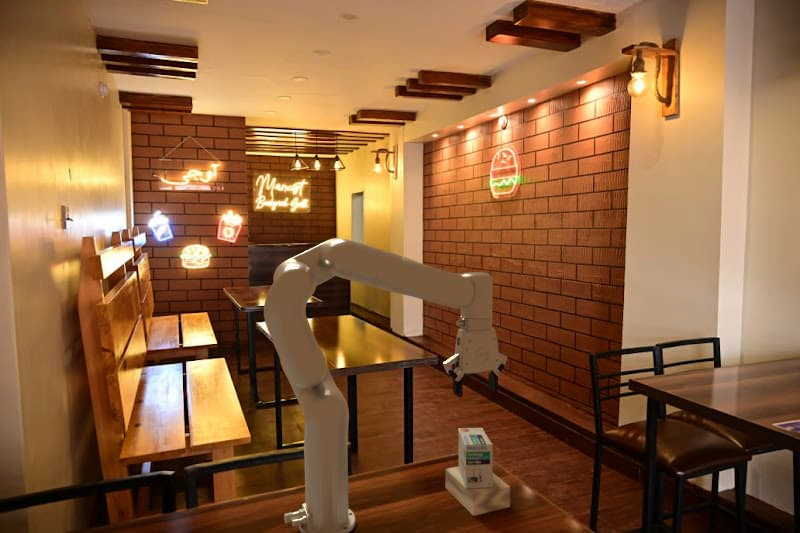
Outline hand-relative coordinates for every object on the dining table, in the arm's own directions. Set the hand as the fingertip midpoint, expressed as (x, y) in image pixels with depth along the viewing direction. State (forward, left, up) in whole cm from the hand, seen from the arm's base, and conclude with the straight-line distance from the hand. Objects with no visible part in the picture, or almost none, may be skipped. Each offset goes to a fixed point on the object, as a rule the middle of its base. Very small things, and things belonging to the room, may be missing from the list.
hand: (475, 393), depth 127 cm
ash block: (0, 0, -26) cm, 26 cm away
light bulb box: (0, 0, -22) cm, 22 cm away
